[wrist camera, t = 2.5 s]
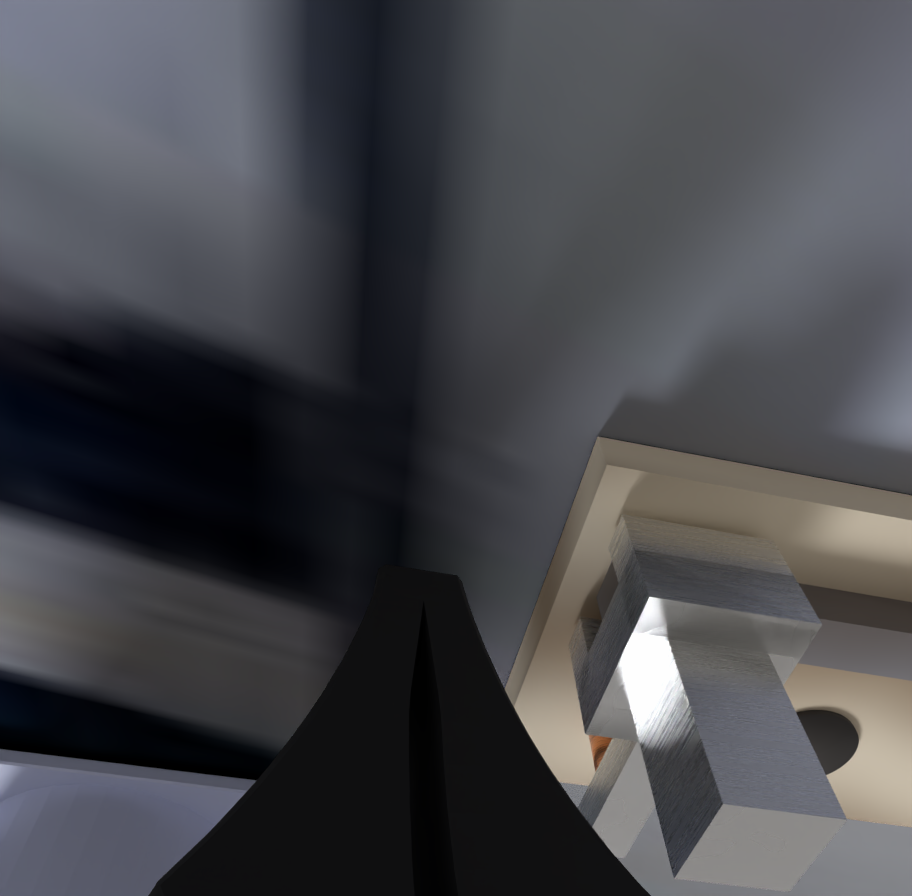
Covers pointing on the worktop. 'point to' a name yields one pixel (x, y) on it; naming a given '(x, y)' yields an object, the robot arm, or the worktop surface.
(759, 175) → the worktop surface
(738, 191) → the worktop surface
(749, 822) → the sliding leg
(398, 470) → the worktop surface
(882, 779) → the board
